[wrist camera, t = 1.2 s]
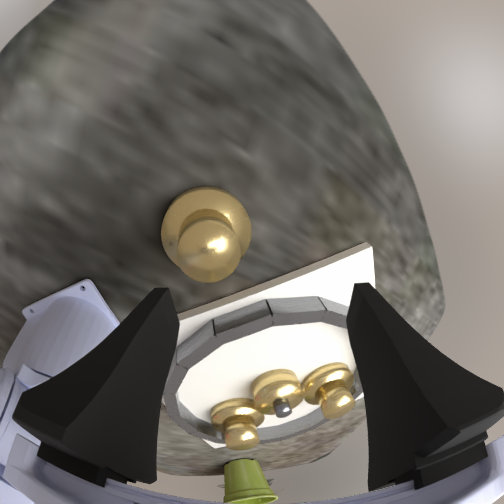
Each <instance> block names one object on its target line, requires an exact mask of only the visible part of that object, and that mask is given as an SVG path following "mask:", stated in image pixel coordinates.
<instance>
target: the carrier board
mask: <svg viewBox="0 0 504 504" xmlns="http://www.w3.org/2000/svg"><path fill="white" fill-rule="evenodd" d="M364 282H369V283H370V284H371V285H372V286H373V287H374V288H375V277H374V262H373V250H372V246H371V245H370V244H368V243H367V242H364V243H362V244H360V245H357V246H355V247H352V248H350V249H348V250H345V251H343V252H340V253H338V254H335V255H333V256H331V257H328V258H326V259H323V260H321V261H318V262H316V263H313V264H311V265H308V266H306V267H303V268H301V269H298V270H296V271H293V272H290V273H288V274H285V275H283V276H280V277H278V278H275V279H272V280H270V281H267V282H265V283H262V284H259V285H257V286H254V287H251V288H249V289H246V290H243V291H241V292H238V293H235V294H233V295H230V296H227V297H224V298H222V299H219V300H216V301H213V302H211V303H208V304H205V305H202V306H199V307H197V308H194V309H191V310H188V311H185V312H182V313H180V314H177V316H178V319H179V322H180V327H179V334H178V340H177V346H178V345H180V344H181V343H182V342H183V341H185V340H186V339H187V338H188V337H190V336H191V335H192V334H193V333H195V332H196V331H197V330H199V329H200V328H201V327H202V326H204V325H205V324H206V323H207V322H209V321H210V320H211V319H213V320H214V318H215V317H217V316H220V315H223V314H226V313H229V312H231V311H234V310H237V309H240V308H242V307H245V306H248V305H250V304H253V303H256V302H258V301H261V300H264V299H265V301H266V299H271V298H290V297H306V296H317V297H318V296H320V297H322V298H325V299H328V300H331V301H334V302H337V303H340V304H343V305H346V306H349V305H350V301H351V296H352V292H353V287H354V283H364ZM177 346H176V348H177ZM333 362H342V363H345V364H346V365H347V366H348V367H349V369H350V370H351V372H352V374H353V373H354V371H355V369H356V363H355V360H354V356H353V353H352V349H351V345H350V342H349V336H348V330H347V329H345V328H341V327H338V326H334V325H330V324H326V323H323V322H316V323H306V324H296V325H285V326H273V327H270V328H268V329H265V330H262V331H260V332H257V333H254V334H251V335H249V336H246V337H243V338H240V339H237V340H234V341H232V342H229V343H226V344H223V345H222V346H221V347H219V348H218V349H216V350H215V351H214V352H212V353H211V354H210V355H208V356H207V357H205V358H204V359H203V360H201V361H200V362H199V363H197V364H196V365H194V366H193V367H191V368H190V369H189V370H188V372H187V374H186V376H185V378H184V380H183V381H182V383H181V385H180V387H179V389H178V395H179V400H180V402H181V403H182V404H183V405H184V406H185V407H186V408H187V409H188V410H189V411H190V412H191V413H192V414H193V415H194V416H195V417H197V418H199V419H202V420H204V421H207V422H209V423H211V416H210V411H211V409H212V408H213V407H214V406H215V405H216V404H218V403H220V402H222V401H225V400H228V399H233V398H250V399H253V396H252V392H251V384H252V382H253V381H254V380H255V379H256V378H257V377H258V376H259V375H261V374H263V373H265V372H267V371H270V370H274V369H289V370H291V371H293V372H294V373H295V374H296V375H297V378H298V380H299V383H300V385H301V383H302V381H303V380H304V378H305V377H306V376H307V375H308V374H309V373H311V372H312V371H314V370H315V369H317V368H319V367H321V366H323V365H325V364H329V363H333ZM363 396H364V394H363V393H362V394H361V395H360V396H359V397H358V398H357V399H359V398H361V397H363ZM357 399H355V400H357ZM162 403H163V404H164V405H165V401H164V398H163V396H162ZM165 406H166V405H165ZM319 407H320V406H319V405H311V404H308V403H307V402H306V401H305V399H303V401H302V402H301V403H300V404H299V405H298V406H297V407H295V408H294V409H292V413H291V414H290V415H289V416H287V417H284V418H278V417H276V415H265V414H264V417H265V419H264V421H263V423H262V424H261V425H260V426H258V427H257V428H263V427H270V426H276V425H280V424H283V423H286V422H289V421H292V420H295V419H297V418H300V417H303V416H305V415H307V414H309V413H311V412H312V411H314V410H316V409H317V408H319ZM203 440H205V439H203ZM205 441H206V442H207V443H208V444H210V445H211V446H212V447H213V448H219V447H224V446H226V444H219V443H214V442H211V441H208V440H205Z"/></svg>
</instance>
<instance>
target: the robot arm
mask: <svg viewBox="0 0 504 504" xmlns="http://www.w3.org/2000/svg"><path fill="white" fill-rule="evenodd" d="M82 286H84V287H85V289H84V288H82ZM22 313H23V315H24V316H25V318H26V319H27V321H26V322H25V324H24V326H23V327H22V329H21V331H20V332H19V334H18V336H17V337H16V339H15V341H14V342H13V344H12V346H11V348H10V350H9V351H8V353H7V355H6V357H5V359H4V362H3V368H0V504H235V503H220V502H210V501H202V500H195V499H189V498H182V497H177V496H172V495H167V494H162V493H157V492H153V491H149V490H145V489H142V488H138V487H134V486H131V485H127V481H129V482H132V483H136V481H139V482H143V483H147V484H151V483H154V482H155V481H156V480H157V472H156V454H157V435H158V425H159V416H160V409H161V402H162V396H163V392H164V388H165V384H166V381H167V377H168V374H169V370H170V367H171V363H172V360H173V356H174V353H175V349H176V346H177V340H178V334H179V327H180V322H179V319H178V316H177V313H176V310H175V307H174V304H173V300H172V297H171V294H170V291H169V288H154V289H153V290H152V291H151V292H150V293H149V294H148V295H147V296H146V297H145V298H144V299H143V300H142V301H141V302H140V304H139V305H138V306H137V307H136V308H135V309H134V310H133V311H132V312H131V313H130V314H129V315H128V316H127V317H126V318H125V319H124V320H123V321H122V322H121V323H120V322H119V321H118V319H117V318H116V317H115V315H114V314H113V312H112V311H111V309H110V308H109V306H108V305H107V303H106V302H105V300H104V299H103V297H102V296H101V294H100V293H99V291H98V290H97V288H96V287H95V285H94V283H93V282H92V281H91V280H90V279H85V280H82V281H80V282H78V283H76V284H74V285H71V286H69V287H67V288H65V289H63V290H61V291H58V292H56V293H54V294H52V295H50V296H48V297H46V298H43V299H41V300H39V301H37V302H35V303H33V304H31V305H29V306H27V307H25V308H24V309H23V310H22ZM346 324H347V330H348V336H349V342H350V345H351V349H352V353H353V356H354V360H355V363H356V367H357V370H358V374H359V378H360V381H361V385H362V389H363V394H364V400H365V407H366V416H367V427H368V445H369V469H368V490H369V492H368V493H364V494H359V495H354V496H350V497H344V498H337V499H331V500H324V501H315V502H305V503H293V504H492V503H493V502H494V501H496V500H497V499H498V498H500V497H501V496H502V495H504V435H503V436H501V437H499V438H498V439H496V440H494V441H493V442H491V443H490V444H488V445H486V446H485V443H484V440H486V439H487V438H488V435H487V432H486V430H487V429H489V428H490V427H491V426H492V425H494V424H495V423H496V422H497V421H499V420H500V419H501V418H502V417H503V416H504V391H503V389H502V388H500V387H498V386H496V385H494V384H492V383H490V382H488V381H486V380H484V379H482V378H480V377H478V376H476V375H474V374H473V373H471V372H469V371H468V370H466V369H464V368H463V367H461V366H459V365H458V364H457V363H455V362H454V361H452V360H451V359H450V358H448V357H447V356H445V355H444V354H443V353H441V352H440V351H439V350H438V349H436V348H435V347H434V346H432V345H431V344H430V343H429V342H428V341H427V340H426V339H424V338H423V337H422V336H421V335H420V334H419V333H418V332H417V331H416V330H415V329H414V328H412V327H411V326H410V325H409V324H408V323H407V322H406V321H405V320H404V319H403V318H402V317H401V316H400V315H399V314H398V313H397V312H396V310H395V309H394V308H393V307H392V306H391V305H390V304H389V303H388V302H387V301H386V300H385V299H384V298H383V297H382V296H381V295H380V293H379V292H378V291H377V290H376V289H375V288H374V287H373V286H372V285H371V284H370V283H369V282H364V283H354V287H353V292H352V296H351V301H350V305H349V309H348V313H347V317H346ZM393 485H395V486H393ZM390 486H392V487H390ZM386 487H388V488H386ZM382 488H385V489H382ZM378 489H381V490H378ZM374 490H377V491H374ZM370 491H373V492H370Z"/></svg>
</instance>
